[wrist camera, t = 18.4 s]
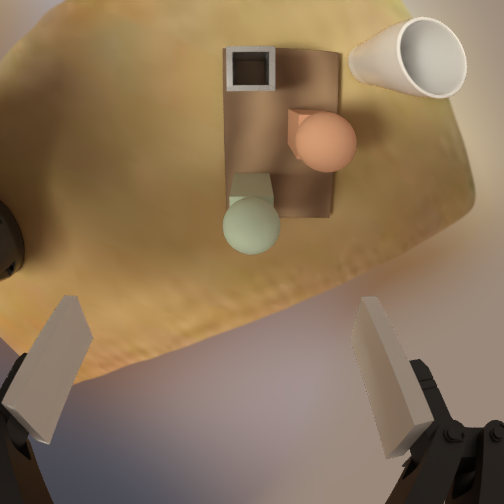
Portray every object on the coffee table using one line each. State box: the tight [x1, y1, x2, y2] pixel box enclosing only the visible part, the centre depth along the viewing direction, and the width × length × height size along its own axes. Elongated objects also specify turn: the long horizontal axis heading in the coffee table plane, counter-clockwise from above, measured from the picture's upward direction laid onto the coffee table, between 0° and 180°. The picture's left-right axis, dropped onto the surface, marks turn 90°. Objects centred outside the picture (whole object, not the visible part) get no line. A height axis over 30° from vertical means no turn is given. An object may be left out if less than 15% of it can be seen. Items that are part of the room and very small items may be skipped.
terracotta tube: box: [288, 109, 344, 159], centre depth 29 cm, size 4×4×8 cm
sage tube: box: [229, 173, 274, 207], centre depth 32 cm, size 4×4×8 cm
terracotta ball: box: [295, 112, 357, 172], centre depth 24 cm, size 5×5×5 cm
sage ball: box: [223, 197, 280, 255], centre depth 27 cm, size 5×5×5 cm
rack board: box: [223, 48, 339, 218], centre depth 33 cm, size 12×20×1 cm, turn 0°
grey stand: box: [226, 46, 275, 91], centre depth 26 cm, size 4×4×8 cm
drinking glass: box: [348, 17, 467, 99], centre depth 23 cm, size 7×7×15 cm
